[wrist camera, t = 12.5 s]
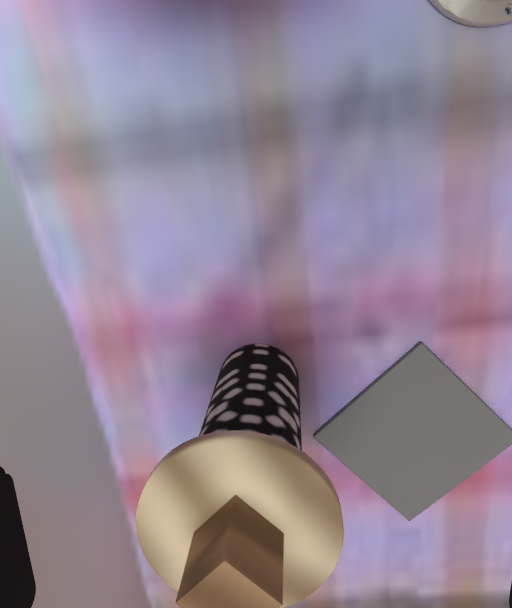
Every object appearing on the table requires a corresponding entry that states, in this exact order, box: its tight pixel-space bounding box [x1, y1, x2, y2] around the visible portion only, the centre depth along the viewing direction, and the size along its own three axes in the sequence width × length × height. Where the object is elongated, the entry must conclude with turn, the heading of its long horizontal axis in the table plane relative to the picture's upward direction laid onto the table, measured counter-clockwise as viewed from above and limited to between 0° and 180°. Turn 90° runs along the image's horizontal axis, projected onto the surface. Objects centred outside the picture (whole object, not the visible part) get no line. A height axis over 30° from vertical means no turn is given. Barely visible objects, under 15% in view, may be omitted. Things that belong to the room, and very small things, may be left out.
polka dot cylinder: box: [199, 344, 302, 451], centre depth 40 cm, size 8×8×20 cm
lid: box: [136, 430, 344, 608], centre depth 28 cm, size 13×13×6 cm
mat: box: [313, 342, 512, 521], centre depth 50 cm, size 15×15×1 cm
